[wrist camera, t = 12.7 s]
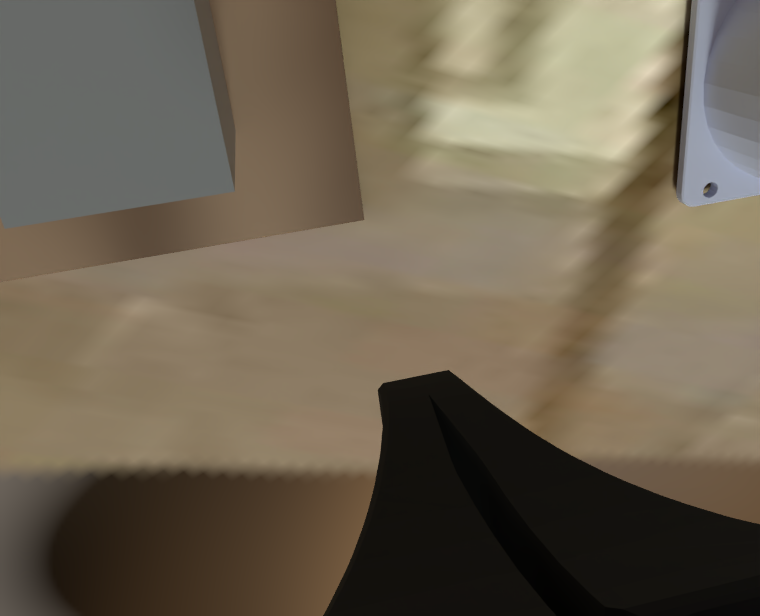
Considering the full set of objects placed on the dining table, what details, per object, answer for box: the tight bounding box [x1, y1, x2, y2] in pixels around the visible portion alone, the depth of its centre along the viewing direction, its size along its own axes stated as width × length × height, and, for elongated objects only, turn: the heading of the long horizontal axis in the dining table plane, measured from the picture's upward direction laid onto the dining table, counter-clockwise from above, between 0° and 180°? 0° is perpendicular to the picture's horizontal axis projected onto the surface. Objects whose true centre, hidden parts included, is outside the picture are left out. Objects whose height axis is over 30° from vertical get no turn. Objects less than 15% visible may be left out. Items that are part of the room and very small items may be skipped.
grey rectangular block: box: [0, 0, 236, 229], centre depth 16 cm, size 4×4×6 cm
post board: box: [0, 0, 364, 282], centre depth 16 cm, size 11×11×6 cm
